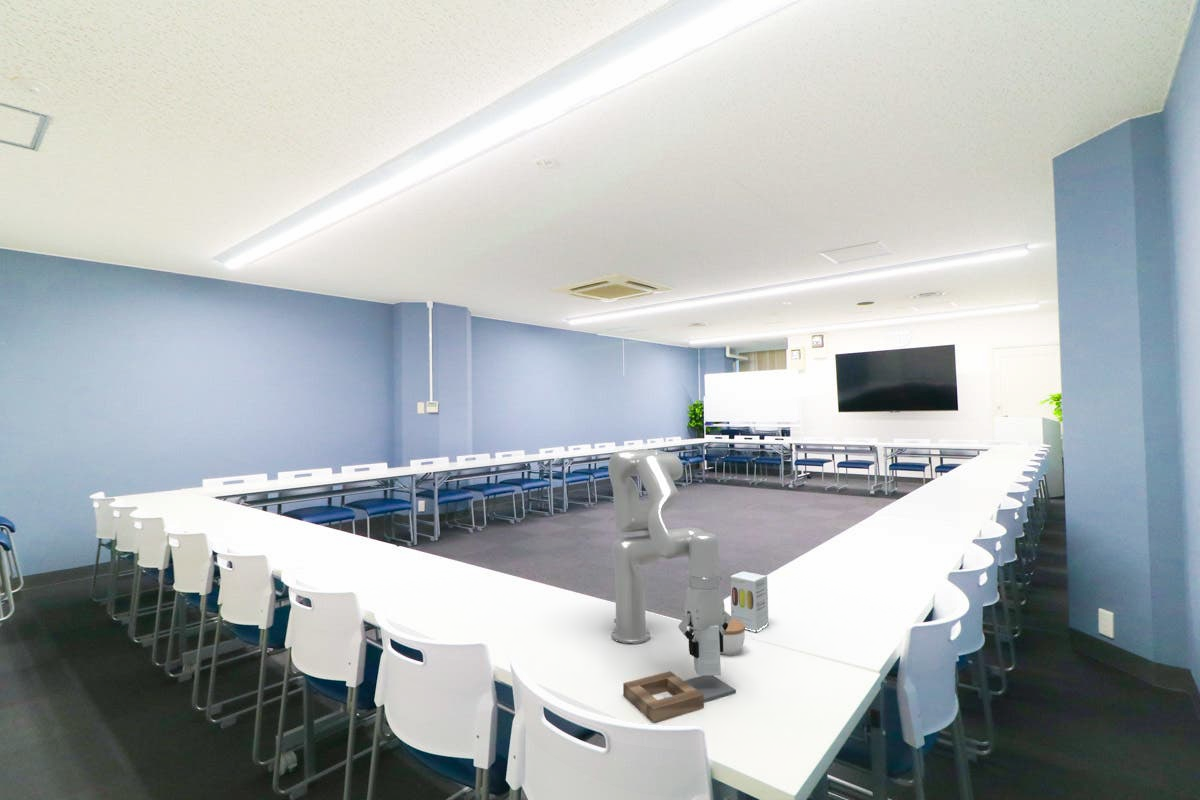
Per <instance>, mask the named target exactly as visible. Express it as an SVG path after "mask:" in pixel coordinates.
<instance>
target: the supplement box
mask: <svg viewBox="0 0 1200 800" xmlns="http://www.w3.org/2000/svg"><path fill="white" fill-rule="evenodd" d="M730 616H731V617H732V618H731V619H734V620H737V621H740V622H742V623H743V624H744V625H745V628H747V629H751V630H755V631H757V630H759V629H760V628H762V627H763V626H765V625H766V624H767V623H768V624H769V593H768V575H764V574H759V573H755V572H749V571H748V572H747V571H745V570H743V571H740V572H737V573H735V574H734V573H733V574H732V575H731V576H730Z"/></svg>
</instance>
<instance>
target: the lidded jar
mask: <svg viewBox="0 0 1200 800" xmlns="http://www.w3.org/2000/svg"><path fill="white" fill-rule="evenodd" d="M745 633H746V630H745V625H744V624H743V623H742V622H740V621H737V620H734V619H731V620H730V622H729V624H728V627H727V629H726V631H725V635H724V636H723V652H720V654H721V653H722V654H721V655H724V654H728V655H727V656H733V655H732V654H734V655H737V654H738V653H737V652H739V651H740V650H741V649H742V648H743V645H744V642H745V639H746V638H745V637H746V636H745V635H746V634H745ZM736 653H737V654H736Z"/></svg>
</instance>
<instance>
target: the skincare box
mask: <svg viewBox="0 0 1200 800" xmlns="http://www.w3.org/2000/svg"><path fill="white" fill-rule="evenodd" d="M694 631H695V630H694ZM694 631H693V633H694ZM696 641H698V642H699V658H695V657H693V662H694V663H693V664H694V665H693V666H694V668H693V669H694V671H695V673H696V675H697V677H699V676H709V675H714V676H721V675H722V669H721V668H722V667H721V653H720V640H719V626H718V625H715V626H711V627H709V628H708V629H705V630H701V631H700V632H699V635H698V638H697V640H696Z"/></svg>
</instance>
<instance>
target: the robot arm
mask: <svg viewBox="0 0 1200 800" xmlns="http://www.w3.org/2000/svg"><path fill="white" fill-rule="evenodd" d="M607 469H608V476H609V478H610V479H609V480H610V483H611V487H612V492H613V493H612V494H613V510H614V511H613V512H614V522H615V526H616V529H617V530H618V531H619V532H621V533H635V532H643V533H644V534H643V535H632V536H631V535H630V536H625V537H624V536H623V537H620V538H618V539H616V540H615V541H614V543H613V544H612V545H611V546H612V547H611V554H612V555H611V556H612V561H613V567H614V577H615V579H614V581H615V586H614V587H615V618H614V619H613V622H614V623H615V629H612V631H611V634H610V635H611V639H612V640H614V639H615V640H617V641H619V642H618V643H620V642H623V643H622V644H626V643H637V644H641V643H640V642H642V643H645V642H647V641H649V640H650V639H651V637H650V636H652V635H651V631H650V630H649V629H647V628H646V587H645V586H646V585H645V584H646V583H645V577H644V576H643V574H642V572H640V570H639V567H641V566H649V565H655V564H658V563H660V562H662V560H663V558H664V559H667V560H671V559H678V558H679V559H680V558H687V557H688V565H689V567H688V569H689V574H688V575H689V586H687V588H686V591H685V598H684V607H683V609H684V610H683V613H684V614H683V615H684V616H683V617H684V618H683V619H682V620H681V622H680V623H679V624H678V625H677V627H678V629H679V630H680V632H682V634H683V636H685V638H686V639H687V640H688V652H689V655H690V656H692V657H693V658H694V657H695V658H699V642H698V641H696V640H697V638H698V635H699V632H700V631H701V630H705V629H708V628H709V627H711V626H715V625H718V626H719V640H720V652H723V636H724V635H725V631H726V629H727V627H728V624H729V622H730V620H731V618H732V617H731V614H730V613H728V612H727V611H726V610H725V601H724V595H723V589H722V587H721V586H720V581H721V580H723V579H722V578H723V577H722V575H721V574H720V568H719V567H720V564H719V562H720V561H719V541H718V536H717V535H716V534H714V533H711V532H705V531H703V530H702V529H701V528H699V527H681V528H672V529H670V528H669V529H667V526H666V525H665V522H664V520H663V515H662V513H664V512H665V511H666V510H668V509H669V508H671V507H672V506H674V505H675V504H676V503H677V501H678V500H679V497H680V493H679V491H678V488H677V487H676V485H675V483H674V481H678V480H679V479H681V477H682V476H683V474H684V466H683V463H682V460H681V459H680V457H678V456H677V455H676V454H674V453H672V452H668V451H662V450H658V449H628V450H626V449H625V450H619V451H616V452H613V454H612V455H611V456H610V458H609V461H608V466H607ZM632 477H639V478H640V480H641V482H642V485H643V487H644V489H645V492H646V494H647V497H648V498H649V501H640V491H639V490H640V489H639V486H638V485H637V483H636V482H635V481H634V479H633V478H632ZM688 627H689V628H688ZM694 630H695V631H694ZM693 631H694V633H693ZM649 638H650V639H649ZM648 639H649V640H648ZM615 640H614V641H615ZM646 640H647V641H646ZM617 641H616V642H617ZM644 641H645V642H644Z"/></svg>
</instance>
